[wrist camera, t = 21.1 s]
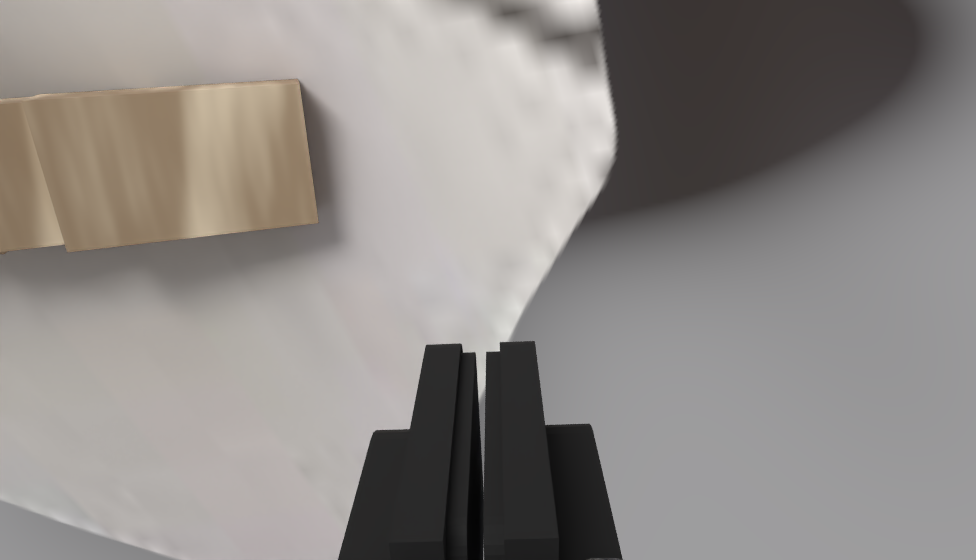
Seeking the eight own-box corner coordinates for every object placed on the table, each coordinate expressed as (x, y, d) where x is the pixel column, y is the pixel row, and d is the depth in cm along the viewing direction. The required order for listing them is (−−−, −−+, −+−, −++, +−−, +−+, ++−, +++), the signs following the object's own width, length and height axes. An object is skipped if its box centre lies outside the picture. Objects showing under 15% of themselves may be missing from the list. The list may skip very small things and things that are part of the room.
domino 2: (315, 210, 31) (79, 237, 28) (297, 79, 29) (38, 94, 26) (318, 222, 29) (67, 252, 27) (299, 83, 27) (21, 100, 24)
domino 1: (184, 218, 31) (-59, 245, 29) (153, 88, 29) (-114, 107, 26) (178, 230, 29) (-81, 261, 27) (145, 93, 27) (-143, 114, 25)
